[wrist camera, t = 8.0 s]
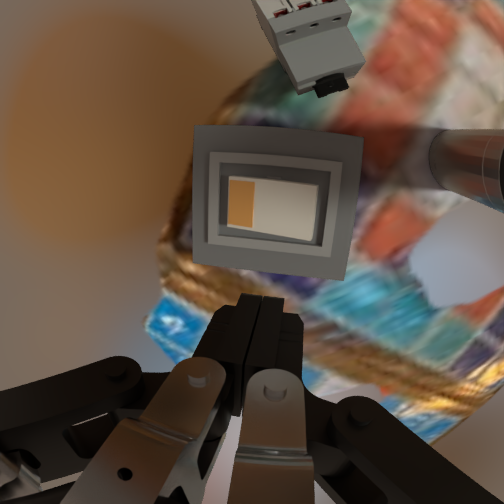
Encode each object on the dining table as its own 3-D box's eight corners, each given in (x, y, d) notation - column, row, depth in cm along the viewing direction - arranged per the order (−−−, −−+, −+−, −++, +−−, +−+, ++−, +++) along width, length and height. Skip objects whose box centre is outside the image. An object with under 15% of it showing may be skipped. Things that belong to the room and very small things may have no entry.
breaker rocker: (318, 185, 30) (316, 186, 29) (312, 237, 32) (310, 241, 31) (233, 175, 33) (228, 176, 32) (231, 224, 35) (226, 226, 34)
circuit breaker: (303, 111, 35) (304, 90, 21) (261, 27, 31) (239, -25, 17) (353, 94, 32) (383, 66, 19) (309, 11, 29) (310, -45, 15)
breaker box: (354, 138, 35) (365, 137, 28) (338, 262, 41) (344, 283, 35) (209, 127, 37) (191, 124, 31) (206, 247, 44) (190, 265, 38)
